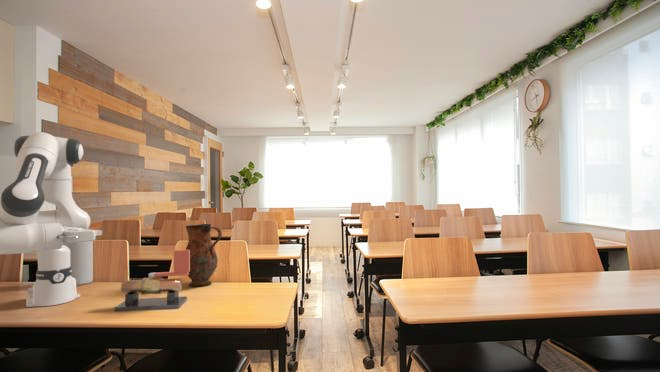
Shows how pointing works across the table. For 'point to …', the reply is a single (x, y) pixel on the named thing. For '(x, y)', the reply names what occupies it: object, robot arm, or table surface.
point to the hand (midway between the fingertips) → (100, 232)
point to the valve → (151, 288)
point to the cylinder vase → (81, 261)
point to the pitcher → (201, 254)
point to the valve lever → (177, 265)
